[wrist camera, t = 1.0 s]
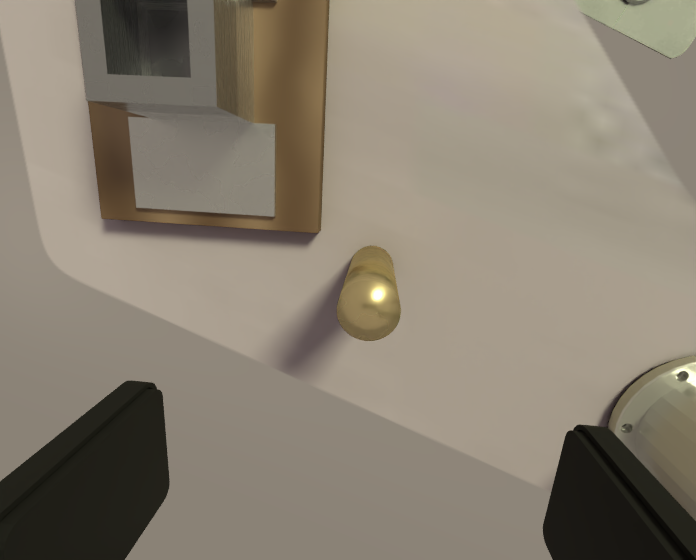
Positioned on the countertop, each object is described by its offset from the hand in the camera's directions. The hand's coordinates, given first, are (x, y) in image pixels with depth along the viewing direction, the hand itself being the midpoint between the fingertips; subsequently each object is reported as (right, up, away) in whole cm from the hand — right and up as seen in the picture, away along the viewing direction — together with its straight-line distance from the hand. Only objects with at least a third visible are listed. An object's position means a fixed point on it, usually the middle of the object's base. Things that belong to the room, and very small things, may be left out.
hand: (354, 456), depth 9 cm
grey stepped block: (-10, +18, +16) cm, 26 cm away
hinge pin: (+2, +5, +20) cm, 20 cm away
